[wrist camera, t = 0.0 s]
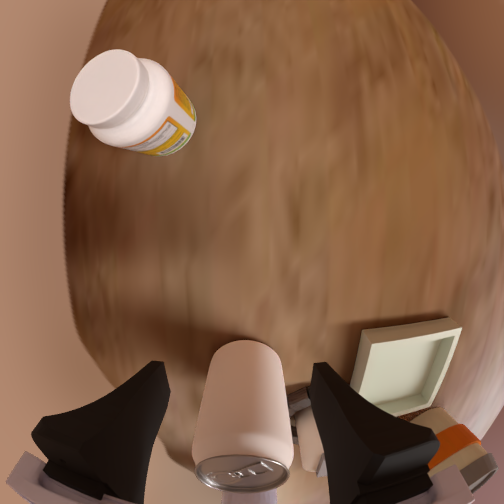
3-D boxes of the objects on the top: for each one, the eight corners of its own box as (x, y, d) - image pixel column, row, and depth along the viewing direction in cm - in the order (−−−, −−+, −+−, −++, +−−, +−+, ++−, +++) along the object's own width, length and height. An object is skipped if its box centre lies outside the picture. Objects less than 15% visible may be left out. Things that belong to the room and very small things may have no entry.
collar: (342, 429, 26) (345, 439, 24) (272, 436, 26) (273, 446, 24) (356, 380, 24) (361, 390, 22) (275, 388, 24) (276, 399, 22)
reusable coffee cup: (378, 462, 29) (404, 532, 14) (387, 420, 26) (428, 509, 11) (443, 433, 28) (478, 491, 13) (462, 384, 25) (515, 449, 10)
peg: (327, 421, 25) (341, 473, 18) (292, 424, 25) (300, 479, 18) (333, 398, 24) (351, 453, 17) (296, 401, 24) (306, 460, 17)
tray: (422, 394, 25) (430, 406, 22) (342, 411, 25) (347, 427, 22) (449, 317, 22) (462, 327, 20) (361, 329, 22) (371, 343, 20)
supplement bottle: (145, 89, 18) (83, 39, 8) (206, 98, 18) (172, 37, 8) (125, 150, 19) (46, 134, 9) (185, 163, 19) (129, 147, 10)
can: (196, 357, 23) (164, 464, 11) (255, 324, 22) (257, 439, 10) (237, 399, 24) (231, 501, 13) (294, 372, 23) (315, 479, 12)
